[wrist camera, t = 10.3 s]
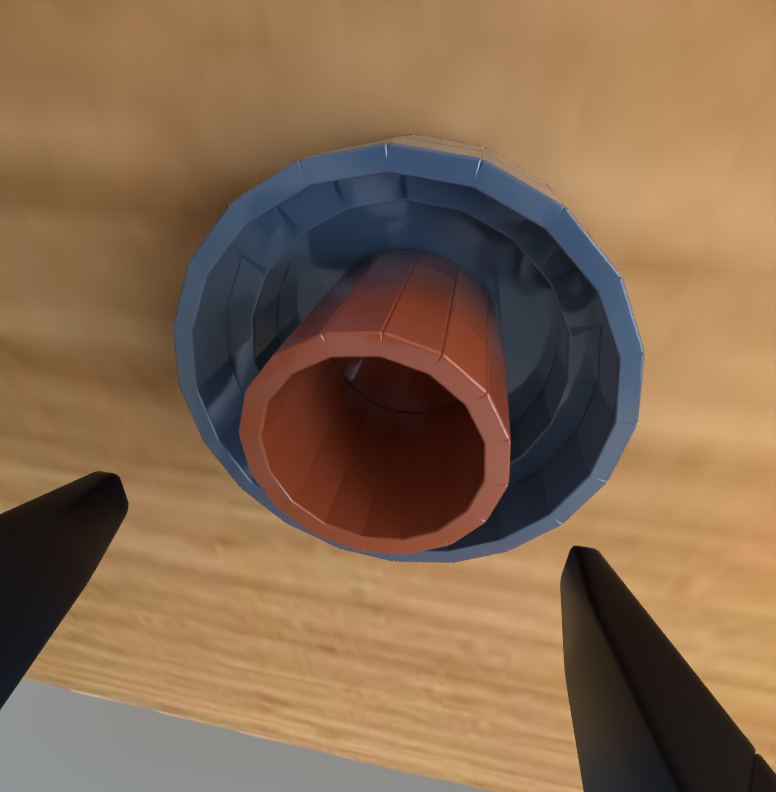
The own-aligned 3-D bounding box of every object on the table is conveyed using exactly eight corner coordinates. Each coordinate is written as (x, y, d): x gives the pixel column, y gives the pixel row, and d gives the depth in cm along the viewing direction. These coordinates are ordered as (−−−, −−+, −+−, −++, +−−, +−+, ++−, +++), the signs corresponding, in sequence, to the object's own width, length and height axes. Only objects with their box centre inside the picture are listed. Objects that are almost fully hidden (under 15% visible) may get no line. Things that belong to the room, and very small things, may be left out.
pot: (374, 436, 20) (327, 573, 14) (289, 298, 17) (186, 394, 11) (528, 383, 17) (550, 524, 11) (455, 213, 15) (435, 280, 9)
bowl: (352, 502, 23) (321, 590, 19) (179, 251, 18) (84, 295, 14) (645, 418, 18) (694, 513, 14) (522, 39, 13) (539, 4, 9)
